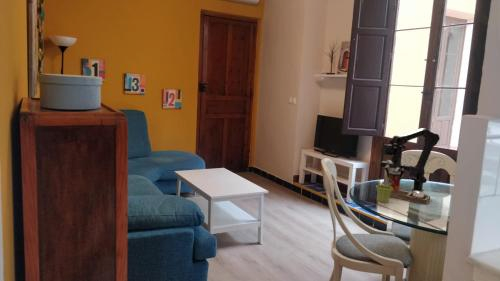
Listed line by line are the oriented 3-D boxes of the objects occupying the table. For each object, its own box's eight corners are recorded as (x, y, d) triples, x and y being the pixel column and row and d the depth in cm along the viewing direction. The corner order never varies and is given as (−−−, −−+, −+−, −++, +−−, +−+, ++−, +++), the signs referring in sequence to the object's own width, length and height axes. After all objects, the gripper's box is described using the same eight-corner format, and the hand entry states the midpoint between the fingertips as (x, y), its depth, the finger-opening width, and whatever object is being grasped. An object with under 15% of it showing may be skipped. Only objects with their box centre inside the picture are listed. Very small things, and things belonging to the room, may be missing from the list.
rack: (392, 192, 256) (393, 188, 256) (429, 199, 244) (430, 195, 244) (387, 196, 247) (387, 192, 247) (425, 204, 235) (426, 199, 234)
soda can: (385, 189, 262) (387, 170, 260) (392, 188, 266) (394, 170, 264) (393, 192, 256) (395, 173, 254) (401, 191, 259) (403, 172, 258)
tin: (413, 197, 247) (414, 190, 246) (424, 200, 244) (425, 192, 243) (410, 200, 242) (411, 192, 241) (422, 202, 238) (423, 194, 238)
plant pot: (390, 200, 239) (392, 186, 238) (392, 204, 230) (393, 189, 229) (374, 198, 242) (375, 184, 240) (374, 202, 233) (376, 187, 231)
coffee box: (383, 181, 286) (385, 159, 284) (392, 182, 285) (395, 160, 282) (384, 184, 277) (387, 161, 275) (394, 185, 276) (397, 162, 273)
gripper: (378, 154, 256) (376, 178, 258) (409, 159, 246) (406, 183, 248) (383, 152, 265) (381, 175, 267) (413, 156, 255) (410, 180, 257)
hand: (394, 179), depth 260 cm, fingers closed on soda can, 7 cm apart
